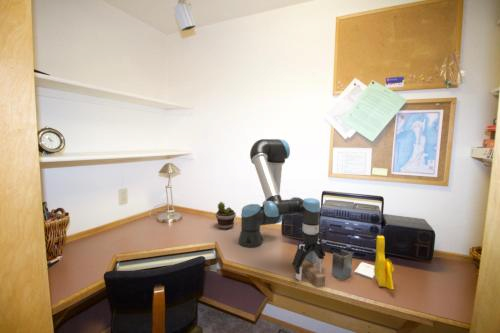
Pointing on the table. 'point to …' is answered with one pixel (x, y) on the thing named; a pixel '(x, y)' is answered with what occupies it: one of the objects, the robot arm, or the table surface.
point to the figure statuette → (383, 265)
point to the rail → (313, 274)
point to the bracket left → (311, 257)
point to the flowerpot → (225, 217)
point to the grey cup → (342, 265)
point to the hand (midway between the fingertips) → (308, 275)
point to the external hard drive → (365, 270)
